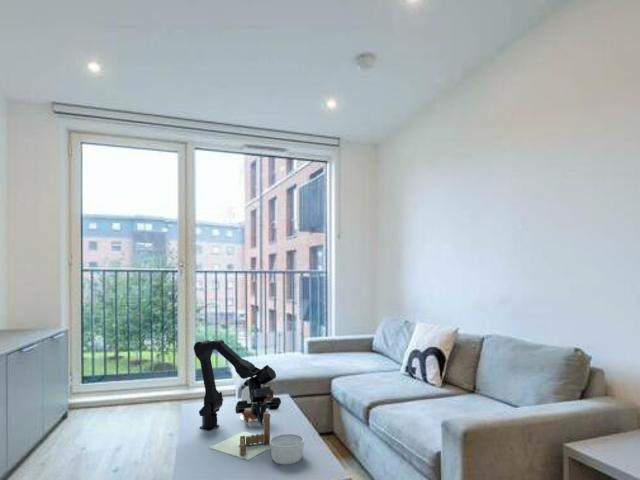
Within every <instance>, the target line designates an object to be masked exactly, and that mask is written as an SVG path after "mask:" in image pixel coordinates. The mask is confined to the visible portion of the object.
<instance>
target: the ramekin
mask: <svg viewBox="0 0 640 480" xmlns="http://www.w3.org/2000/svg"><path fill="white" fill-rule="evenodd" d="M270 438H271V439H270V446H271V448H270V453H271V454H270V455H271V458H272V460H273V461H274V462H275V463H276V464H279V465H284V466H285V465H287V466H288V465H293V464H296V463H298V462H299V461H301V459H303V455H304V454H303V453H304V445H305V438H304V437H303V436H302V435H300V434H296V433H280V434H277V435H274V436H273V437H270Z"/></svg>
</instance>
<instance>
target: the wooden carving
mask: <svg viewBox="0 0 640 480" xmlns="http://www.w3.org/2000/svg"><path fill="white" fill-rule="evenodd" d="M261 386H262V387H263V388H265V387H267V386H268V385H261ZM270 388H271V394H270V395H267V396H266V400H264V401H265V402H267V401H270V399H271V398H275V397H274V393H275V392H274V389H273V388H272V387H271V386H270Z"/></svg>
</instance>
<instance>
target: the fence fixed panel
mask: <svg viewBox="0 0 640 480" xmlns="http://www.w3.org/2000/svg"><path fill="white" fill-rule="evenodd" d="M244 455H245V436H240V456H244Z"/></svg>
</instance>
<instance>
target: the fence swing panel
mask: <svg viewBox="0 0 640 480" xmlns="http://www.w3.org/2000/svg"><path fill="white" fill-rule="evenodd" d="M263 417H264V419H263V423H264V425H263V433H260V434H258V433H255V434H256V435H251V436H246V445H250V444H254V443H256V444H259V443H263V442H264V443H269V442H270V438H271V414H270V413H269V414H264V415H263Z"/></svg>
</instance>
